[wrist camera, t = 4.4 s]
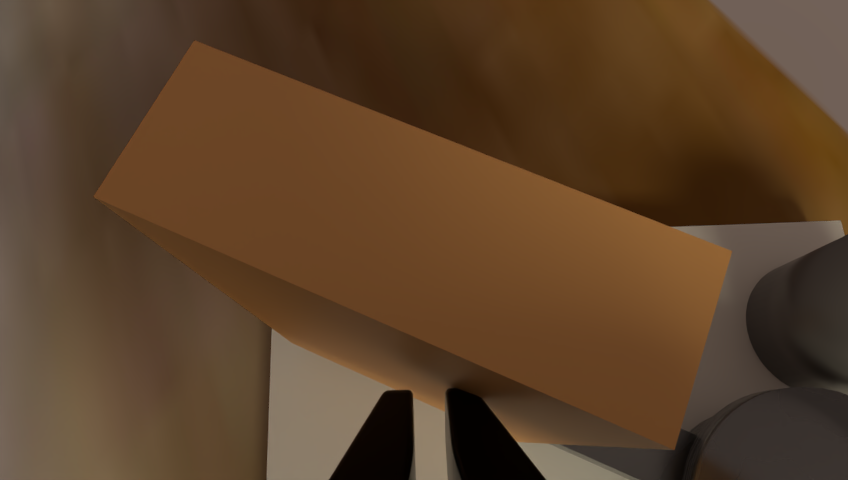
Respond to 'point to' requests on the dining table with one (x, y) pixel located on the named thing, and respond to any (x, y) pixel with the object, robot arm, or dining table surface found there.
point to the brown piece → (455, 275)
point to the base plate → (713, 387)
